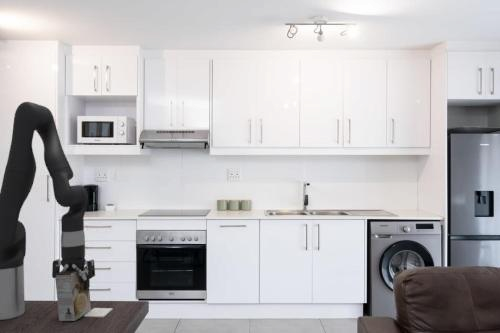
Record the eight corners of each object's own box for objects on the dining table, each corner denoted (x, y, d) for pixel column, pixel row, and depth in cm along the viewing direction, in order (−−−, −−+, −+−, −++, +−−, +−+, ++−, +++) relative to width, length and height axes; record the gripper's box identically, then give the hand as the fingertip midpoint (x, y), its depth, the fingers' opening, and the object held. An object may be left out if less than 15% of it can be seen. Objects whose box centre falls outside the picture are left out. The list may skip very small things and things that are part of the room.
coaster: (83, 316, 131) (83, 315, 131) (94, 309, 138) (94, 307, 138) (103, 317, 131) (103, 316, 131) (112, 309, 138) (112, 308, 138)
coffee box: (75, 310, 137) (72, 266, 137) (91, 310, 136) (88, 265, 136) (58, 321, 128) (54, 273, 128) (75, 321, 127) (71, 273, 127)
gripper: (46, 245, 128) (47, 293, 128) (87, 245, 127) (88, 294, 127) (59, 241, 136) (60, 286, 136) (98, 241, 134) (99, 286, 135)
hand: (74, 290), depth 132 cm, fingers open, 8 cm apart
